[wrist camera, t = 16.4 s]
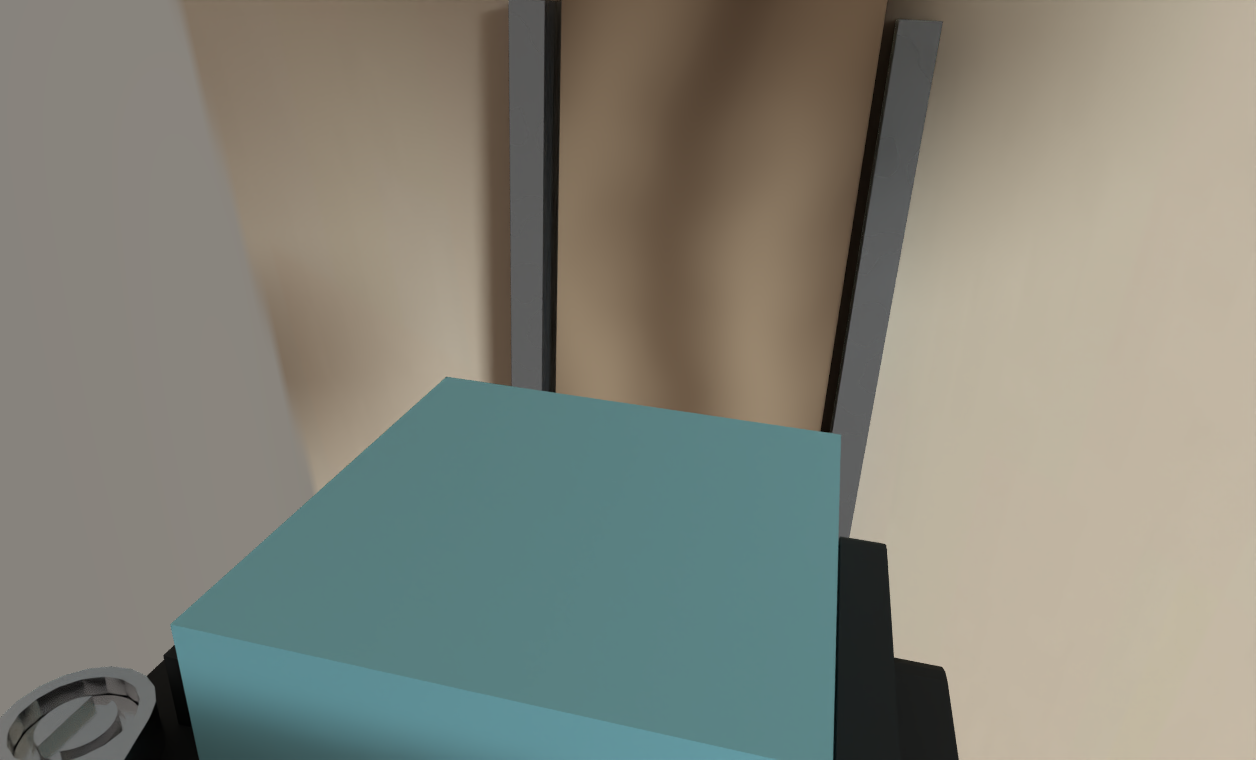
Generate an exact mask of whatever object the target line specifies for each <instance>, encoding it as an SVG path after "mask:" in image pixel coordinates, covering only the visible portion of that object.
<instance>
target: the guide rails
mask: <svg viewBox="0 0 1256 760" xmlns="http://www.w3.org/2000/svg"><path fill="white" fill-rule="evenodd" d="M561 6H562V1H543V0H509V115H510V239H511V362H512V386H513V387H519V388H526V389H533V390H540V391H547V392H553V393H556V343H557V276H558V208H559V141H560V74H561ZM942 23H943V22H942V21H925V20H906V19H896V23H895V29H894V36H893V42H892V48H891V54H890V60H889V67H888V73H887V79H886V85H885V91H884V98H883V104H882V110H881V116H880V123H879V129H878V135H877V141H876V147H875V154H874V160H873V166H872V172H871V178H870V185H869V191H868V197H867V203H866V210H865V216H864V222H863V228H862V234H861V241H860V247H859V253H858V259H857V265H856V272H855V278H854V284H853V290H852V297H851V303H850V309H849V315H848V321H847V328H846V334H845V340H844V346H843V352H842V359H841V365H840V371H839V377H838V384H837V390H836V396H835V402H834V408H833V415H832V421H831V427H830V433H833V434H840V435H841V455H840V495H839V536H838V541H839V538H840V536H841V537H847V538H849V535H850V530H851V524H852V519H853V513H854V508H855V502H856V497H857V491H858V486H859V480H860V475H861V469H862V464H863V458H864V453H865V447H866V442H867V436H868V431H869V425H870V420H871V414H872V409H873V403H874V398H875V392H876V387H877V381H878V376H879V370H880V365H881V359H882V354H883V348H884V343H885V337H886V332H887V326H888V321H889V315H890V310H891V304H892V298H893V293H894V287H895V282H896V276H897V271H898V265H899V260H900V254H901V249H902V243H903V238H904V232H905V227H906V221H907V216H908V210H909V205H910V199H911V194H912V188H913V183H914V177H915V172H916V166H917V161H918V155H919V150H920V144H921V139H922V133H923V128H924V122H925V117H926V111H927V106H928V100H929V95H930V89H931V84H932V78H933V73H934V67H935V62H936V56H937V50H938V45H939V39H940V34H941V28H942Z"/></svg>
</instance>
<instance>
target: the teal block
mask: <svg viewBox="0 0 1256 760" xmlns="http://www.w3.org/2000/svg"><path fill="white" fill-rule="evenodd" d="M840 455H841V435H840V434H833V433H826V432H819V431H813V430H806V429H799V428H792V427H785V426H779V425H772V424H765V423H758V422H751V421H744V420H738V419H731V418H724V417H717V416H710V415H703V414H697V413H690V412H683V411H676V410H669V409H663V408H656V407H649V406H642V405H635V404H628V403H622V402H615V401H608V400H601V399H594V398H588V397H581V396H574V395H567V394H560V393H553V392H547V391H540V390H533V389H526V388H519V387H513V386H506V385H499V384H492V383H485V382H478V381H472V380H465V379H458V378H451V377H446V378H445V379H443V380H442V381H441V382H440V383H439V384H438V385H437V386H436V387H435V388H433V389H432V390H431V391H430V392H429V393H428V394H427V395H426V396H424V397H423V398H422V399H421V400H420V401H419V402H418V403H417V404H416V405H414V406H413V407H412V408H411V409H410V410H409V411H408V412H407V413H406V414H404V415H403V416H402V417H401V418H400V419H399V420H398V421H397V422H396V423H394V424H393V425H392V426H391V427H390V428H389V429H388V430H387V431H385V432H384V433H383V434H382V435H381V436H380V437H379V438H378V439H377V440H375V441H374V442H373V443H372V444H371V445H370V446H369V447H368V448H367V449H365V450H364V451H363V452H362V453H361V454H360V455H359V456H358V457H356V458H355V459H354V460H353V461H352V462H351V463H350V464H349V465H348V466H346V467H345V468H344V469H343V470H342V471H341V472H340V473H339V474H338V475H336V476H335V477H334V478H333V479H332V480H331V481H330V482H329V483H327V484H326V485H325V486H324V487H323V488H322V489H321V490H320V491H319V492H317V493H316V494H315V495H314V496H313V497H312V498H311V499H310V500H309V501H307V502H306V503H305V504H304V505H303V506H302V507H301V508H300V509H299V510H297V511H296V512H295V513H294V514H293V515H292V516H291V517H290V518H288V519H287V520H286V521H285V522H284V523H283V524H282V525H281V526H280V527H278V528H277V529H276V530H275V531H274V532H273V533H272V534H271V535H269V536H268V537H267V538H266V539H265V540H264V541H263V542H262V543H261V544H259V545H258V546H257V547H256V548H255V549H254V550H253V551H252V552H251V553H249V554H248V556H246V557H245V558H244V559H243V560H242V561H241V562H239V563H238V564H237V565H236V566H235V567H234V568H233V569H232V570H230V571H229V572H228V573H227V574H226V575H225V576H224V577H223V578H222V579H221V580H219V581H218V582H217V583H216V584H215V585H214V586H213V587H212V588H211V589H209V590H208V591H207V592H206V593H205V594H204V595H203V596H201V597H200V598H199V599H198V600H197V601H196V602H195V603H194V604H193V605H191V607H189V608H188V609H187V610H186V611H185V612H184V613H183V614H181V615H180V616H179V617H178V618H177V619H176V620H175V621H174V622H172V623H171V630H172V634H173V639H174V644H175V648H176V653H177V658H178V663H179V667H180V672H181V677H182V681H183V686H184V691H185V695H186V700H187V705H188V709H189V714H190V719H191V723H192V728H193V733H194V737H195V742H196V747H197V752H198V756H199V760H833V737H834V697H835V656H836V616H837V576H838V536H839V495H840Z"/></svg>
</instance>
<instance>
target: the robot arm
mask: <svg viewBox="0 0 1256 760" xmlns="http://www.w3.org/2000/svg"><path fill="white" fill-rule="evenodd" d="M0 760H199V756H198V752H197V747H196V742H195V737H194V733H193V728H192V723H191V719H190V714H189V709H188V705H187V700H186V695H185V691H184V686H183V681H182V677H181V672H180V667H179V663H178V658H177V653H176V648H175V645H174V646H173V647H172V648H171V649H170V650H169V651H168V652H167V653H165V654H164V660H163V661H162V662H161V663H160V664H159V665H158V666H157V667H156V668H155V669H154V670H153V671H152V672H151V673H150V674H149V675H148V676H145V675H143V674H141V673H139V672H137V671H135V670H133V669H128V668H119V667H112V666H111V667H101V668H91V669H86V670H82V671H79V672H75V673H71V674H67V675H64V676H62V677H59V678H57V679H55V680H53V681H50V682H49V683H46V684H44V685H42V686H39V687H38V688H36V689H35V690H33V691H32V692H30V693H29V694H27V695H26V696H24V697H23V698H21V699H20V700H18V701H17V702H16V703H15V704H14V705H13V706H12V707H11V708H10V709H8V710H7V712H5V714H3V715H2V716H1V717H0ZM833 760H959V759H958V752H957V745H956V738H955V731H954V724H953V717H952V710H951V703H950V696H949V689H948V682H947V677H946V673H945V671H944V669H943V668H942V667H940V666H935V665H929V664H924V663H919V662H914V661H909V660H904V659H899V658H894V652H893V637H892V621H891V606H890V591H889V575H888V560H887V548H886V545H885V544H882V543H876V542H870V541H864V540H859V539H853V538H847V537H841V536H840V538H839V541H838V576H837V616H836V656H835V697H834V737H833Z"/></svg>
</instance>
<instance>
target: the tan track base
mask: <svg viewBox="0 0 1256 760" xmlns="http://www.w3.org/2000/svg"><path fill="white" fill-rule="evenodd" d="M887 1H888V0H562V6H561V74H560V141H559V208H558V276H557V343H556V393H560V394H567V395H574V396H581V397H588V398H594V399H601V400H608V401H615V402H622V403H628V404H635V405H642V406H649V407H656V408H663V409H669V410H676V411H683V412H690V413H697V414H703V415H710V416H717V417H724V418H731V419H738V420H744V421H751V422H758V423H765V424H772V425H779V426H785V427H792V428H799V429H806V430H813V431H819V432H820V430H821V424H822V418H823V411H824V405H825V398H826V392H827V385H828V379H829V373H830V366H831V360H832V353H833V347H834V341H835V334H836V328H837V321H838V315H839V308H840V302H841V296H842V289H843V283H844V276H845V270H846V264H847V257H848V251H849V244H850V238H851V231H852V225H853V219H854V212H855V206H856V199H857V193H858V187H859V180H860V174H861V167H862V161H863V155H864V148H865V142H866V135H867V129H868V122H869V116H870V110H871V103H872V97H873V90H874V84H875V78H876V71H877V65H878V58H879V52H880V45H881V39H882V33H883V26H884V20H885V13H886V7H887Z"/></svg>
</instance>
